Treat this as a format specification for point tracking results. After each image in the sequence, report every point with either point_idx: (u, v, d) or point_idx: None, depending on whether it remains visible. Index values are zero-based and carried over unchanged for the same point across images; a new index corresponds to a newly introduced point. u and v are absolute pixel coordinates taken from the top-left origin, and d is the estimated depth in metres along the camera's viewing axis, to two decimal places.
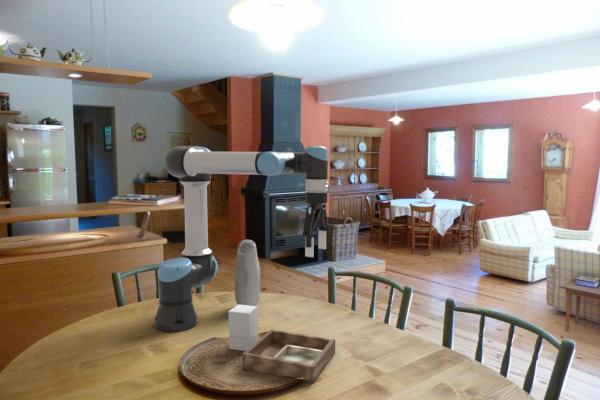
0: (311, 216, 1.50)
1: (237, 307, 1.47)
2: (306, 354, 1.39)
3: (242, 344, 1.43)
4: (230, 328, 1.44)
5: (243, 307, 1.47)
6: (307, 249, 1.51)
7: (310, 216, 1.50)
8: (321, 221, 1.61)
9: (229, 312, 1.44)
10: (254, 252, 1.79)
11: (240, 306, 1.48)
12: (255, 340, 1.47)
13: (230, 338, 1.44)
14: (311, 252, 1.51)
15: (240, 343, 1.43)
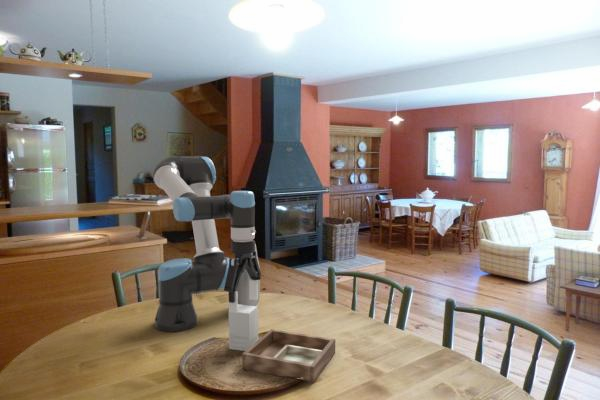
0: (234, 269, 1.37)
1: None
2: (306, 354, 1.39)
3: (242, 344, 1.43)
4: (230, 328, 1.44)
5: (243, 307, 1.47)
6: (230, 304, 1.39)
7: (233, 268, 1.37)
8: (251, 270, 1.49)
9: (229, 312, 1.44)
10: None
11: (240, 306, 1.48)
12: (255, 340, 1.47)
13: (230, 338, 1.44)
14: (235, 307, 1.38)
15: (240, 343, 1.43)
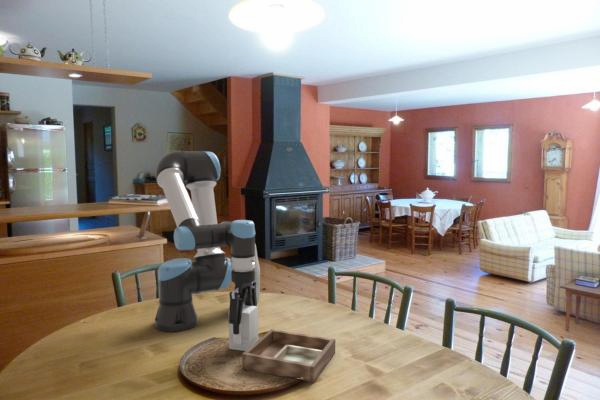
0: (235, 302, 1.39)
1: None
2: (306, 354, 1.39)
3: (243, 344, 1.43)
4: (230, 328, 1.44)
5: (243, 307, 1.47)
6: (235, 336, 1.43)
7: (234, 302, 1.39)
8: (248, 302, 1.48)
9: None
10: None
11: None
12: (255, 340, 1.47)
13: (230, 338, 1.44)
14: (239, 339, 1.42)
15: None
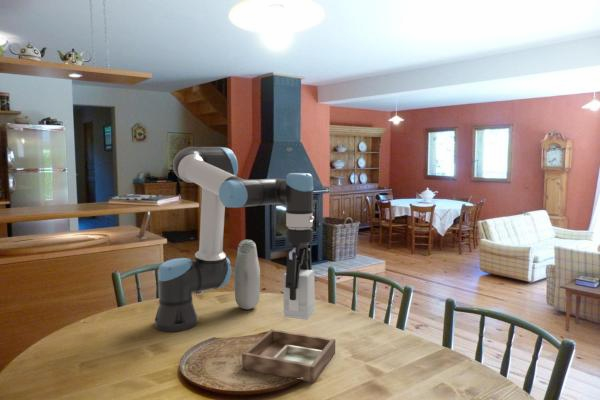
0: (293, 263, 1.24)
1: None
2: (306, 354, 1.39)
3: (300, 311, 1.27)
4: (285, 293, 1.28)
5: None
6: (291, 302, 1.27)
7: (292, 263, 1.24)
8: (304, 265, 1.33)
9: (284, 275, 1.28)
10: (254, 252, 1.79)
11: None
12: (312, 308, 1.31)
13: (285, 305, 1.29)
14: (296, 305, 1.27)
15: None
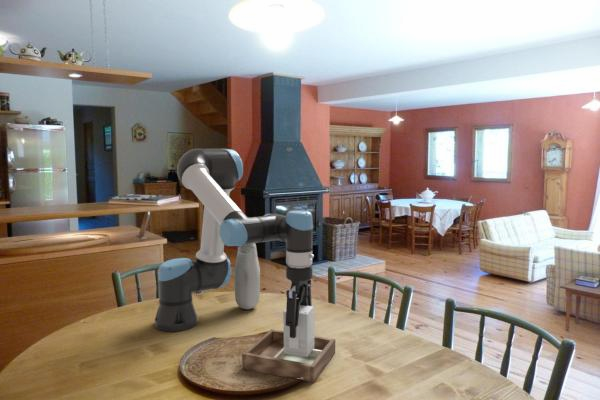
0: (293, 302, 1.25)
1: None
2: None
3: (300, 348, 1.28)
4: (285, 330, 1.29)
5: None
6: (291, 339, 1.28)
7: (292, 302, 1.25)
8: (304, 301, 1.34)
9: (284, 313, 1.29)
10: (254, 252, 1.79)
11: None
12: (312, 344, 1.32)
13: (285, 342, 1.30)
14: (296, 343, 1.28)
15: None
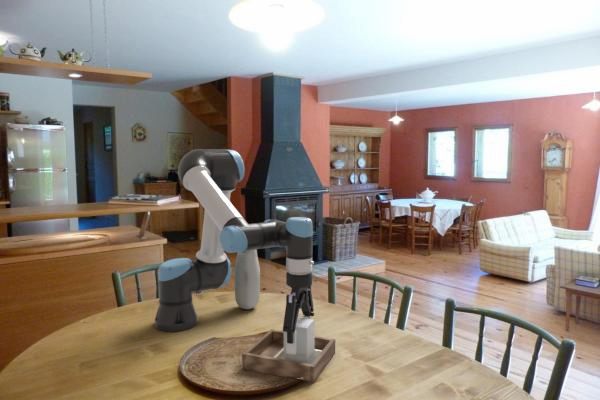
0: (292, 306, 1.24)
1: None
2: None
3: (299, 361, 1.29)
4: (285, 344, 1.30)
5: (298, 320, 1.33)
6: (288, 345, 1.27)
7: (291, 306, 1.24)
8: (305, 305, 1.35)
9: None
10: (254, 252, 1.79)
11: None
12: (312, 357, 1.33)
13: (285, 355, 1.31)
14: (293, 349, 1.26)
15: (296, 360, 1.29)
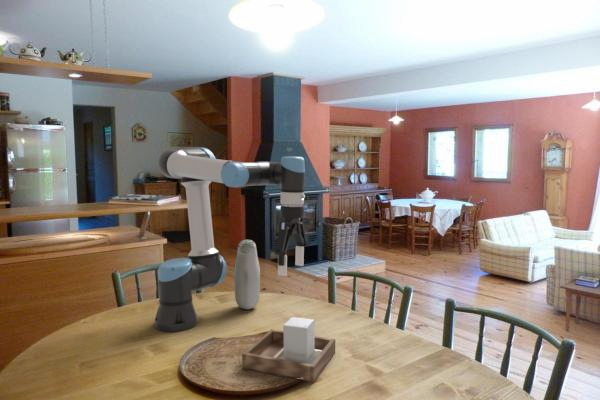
0: (284, 232, 1.39)
1: (292, 320, 1.33)
2: None
3: (299, 361, 1.29)
4: (285, 344, 1.30)
5: (298, 320, 1.33)
6: (279, 268, 1.41)
7: (283, 232, 1.39)
8: (298, 236, 1.50)
9: (284, 326, 1.30)
10: (254, 252, 1.79)
11: (295, 319, 1.34)
12: (312, 357, 1.33)
13: (285, 355, 1.31)
14: (284, 271, 1.40)
15: (296, 360, 1.29)
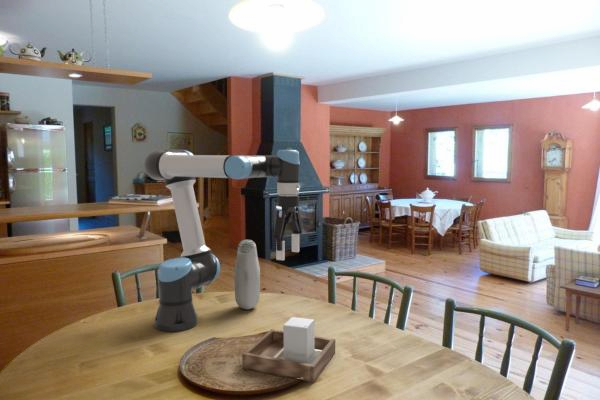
0: (282, 219, 1.50)
1: (292, 320, 1.33)
2: None
3: (299, 361, 1.29)
4: (285, 344, 1.30)
5: (298, 320, 1.33)
6: (278, 253, 1.52)
7: (281, 219, 1.50)
8: (294, 224, 1.61)
9: (284, 326, 1.30)
10: (254, 252, 1.79)
11: (295, 319, 1.34)
12: (312, 357, 1.33)
13: (285, 355, 1.31)
14: (282, 255, 1.51)
15: (296, 360, 1.29)
